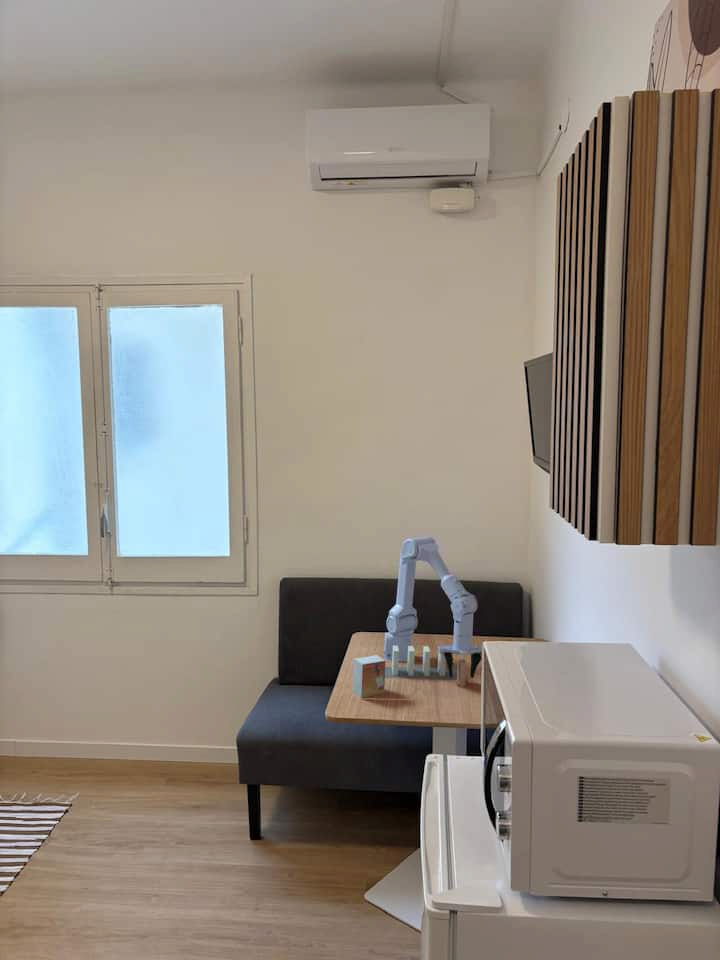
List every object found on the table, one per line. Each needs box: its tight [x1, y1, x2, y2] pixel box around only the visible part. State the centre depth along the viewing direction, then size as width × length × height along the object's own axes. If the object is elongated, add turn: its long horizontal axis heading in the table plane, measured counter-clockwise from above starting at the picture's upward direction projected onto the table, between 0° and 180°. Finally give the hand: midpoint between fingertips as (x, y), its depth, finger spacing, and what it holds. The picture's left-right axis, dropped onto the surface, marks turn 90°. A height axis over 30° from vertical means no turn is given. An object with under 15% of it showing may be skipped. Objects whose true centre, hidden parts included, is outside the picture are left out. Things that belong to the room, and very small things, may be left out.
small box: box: [352, 654, 386, 699], centre depth 203 cm, size 8×6×10 cm
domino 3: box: [422, 645, 431, 676], centre depth 220 cm, size 2×5×8 cm, turn 1°
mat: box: [385, 666, 458, 680], centre depth 220 cm, size 27×9×1 cm, turn 91°
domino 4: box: [437, 653, 447, 676], centre depth 220 cm, size 2×5×8 cm, turn 1°
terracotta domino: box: [456, 656, 467, 687], centre depth 212 cm, size 2×5×8 cm, turn 1°
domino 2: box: [406, 645, 415, 676], centre depth 220 cm, size 2×5×8 cm, turn 1°
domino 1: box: [391, 646, 400, 675], centre depth 220 cm, size 2×5×8 cm, turn 1°
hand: (461, 676), depth 212 cm, fingers open, 6 cm apart
